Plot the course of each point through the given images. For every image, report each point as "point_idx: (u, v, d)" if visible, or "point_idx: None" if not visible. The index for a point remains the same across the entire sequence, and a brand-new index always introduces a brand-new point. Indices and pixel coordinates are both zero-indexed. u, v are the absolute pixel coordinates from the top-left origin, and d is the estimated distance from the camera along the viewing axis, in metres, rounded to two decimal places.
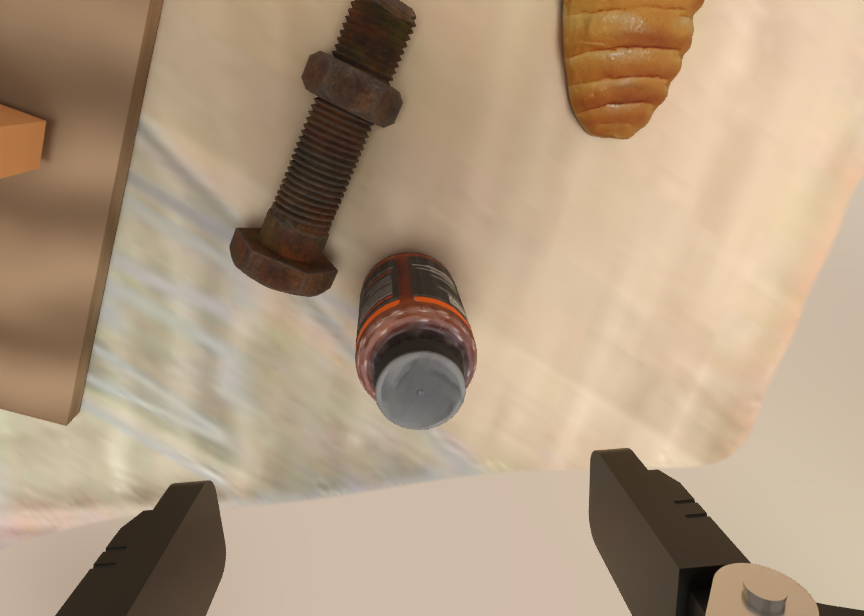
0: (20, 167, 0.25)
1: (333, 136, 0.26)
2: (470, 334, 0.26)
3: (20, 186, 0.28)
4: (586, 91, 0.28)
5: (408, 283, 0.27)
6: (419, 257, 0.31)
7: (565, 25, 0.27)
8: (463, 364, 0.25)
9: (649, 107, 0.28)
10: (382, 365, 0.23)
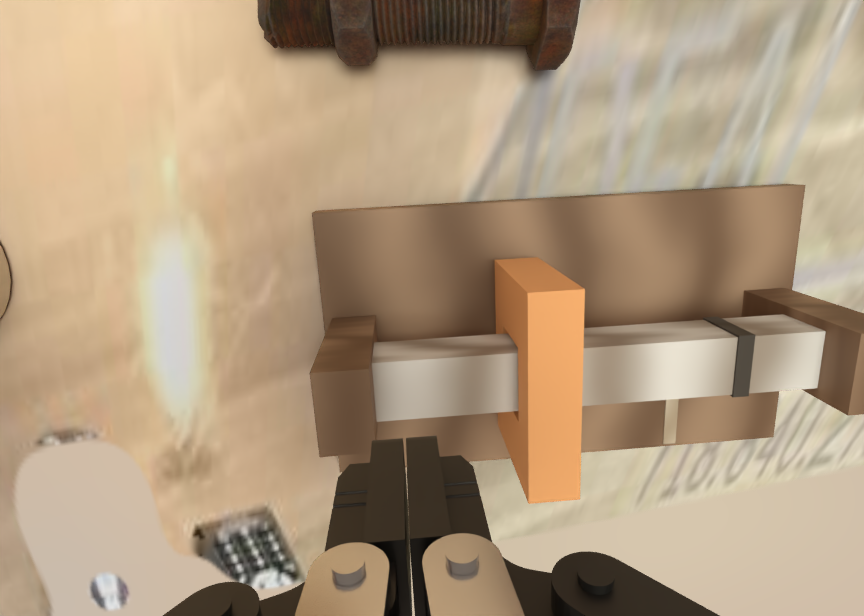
0: (539, 262, 0.28)
1: (401, 0, 0.25)
2: None
3: None
4: None
5: None
6: None
7: None
8: None
9: None
10: None
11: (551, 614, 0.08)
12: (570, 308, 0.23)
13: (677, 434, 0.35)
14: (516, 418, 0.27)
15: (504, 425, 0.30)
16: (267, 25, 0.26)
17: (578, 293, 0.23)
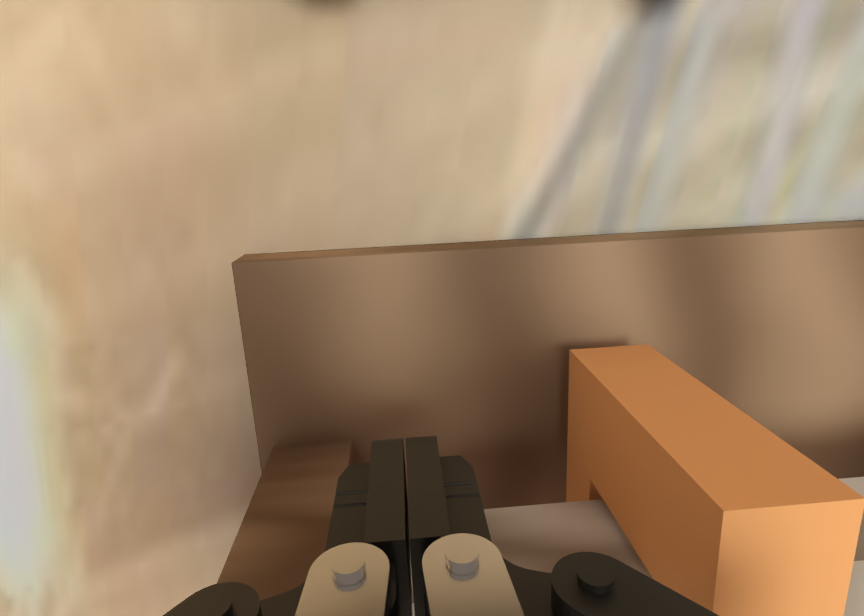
0: (663, 363, 0.15)
1: None
2: None
3: None
4: None
5: None
6: None
7: None
8: None
9: None
10: None
11: (551, 614, 0.08)
12: (823, 543, 0.09)
13: None
14: None
15: None
16: None
17: (848, 508, 0.09)
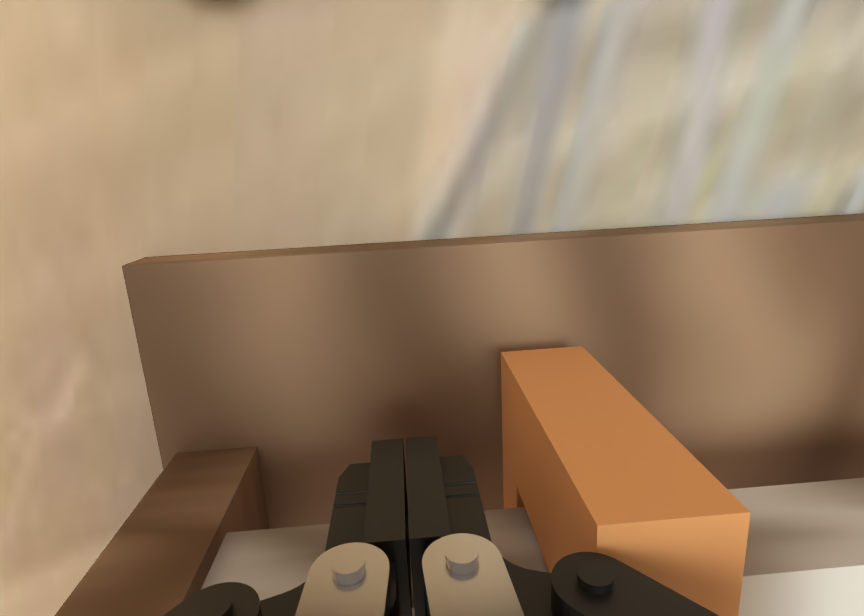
0: (590, 366, 0.14)
1: None
2: None
3: None
4: None
5: None
6: None
7: None
8: None
9: None
10: None
11: (551, 614, 0.08)
12: (708, 559, 0.09)
13: None
14: None
15: None
16: None
17: (732, 523, 0.08)
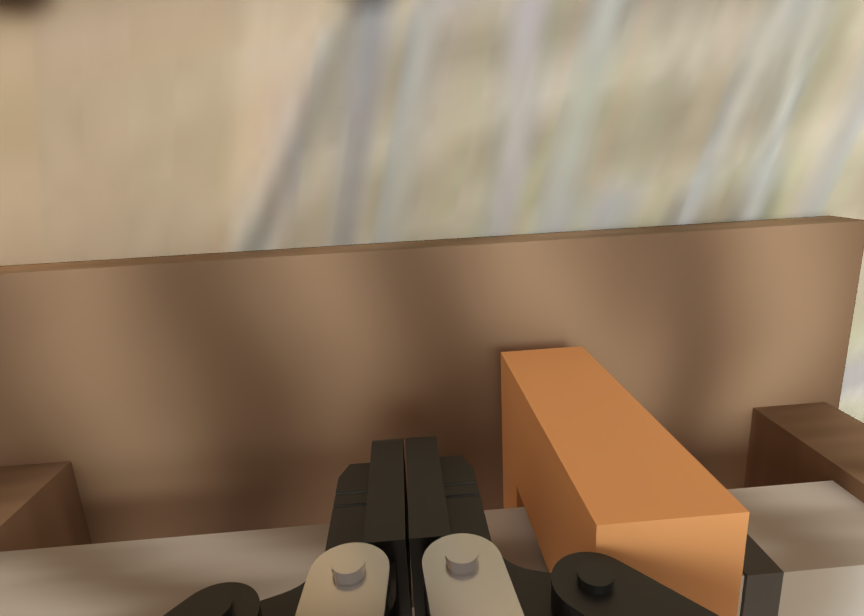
0: (589, 366, 0.14)
1: None
2: None
3: (415, 384, 0.17)
4: None
5: None
6: None
7: None
8: None
9: None
10: None
11: (551, 614, 0.08)
12: (707, 558, 0.09)
13: None
14: None
15: None
16: None
17: (731, 522, 0.08)
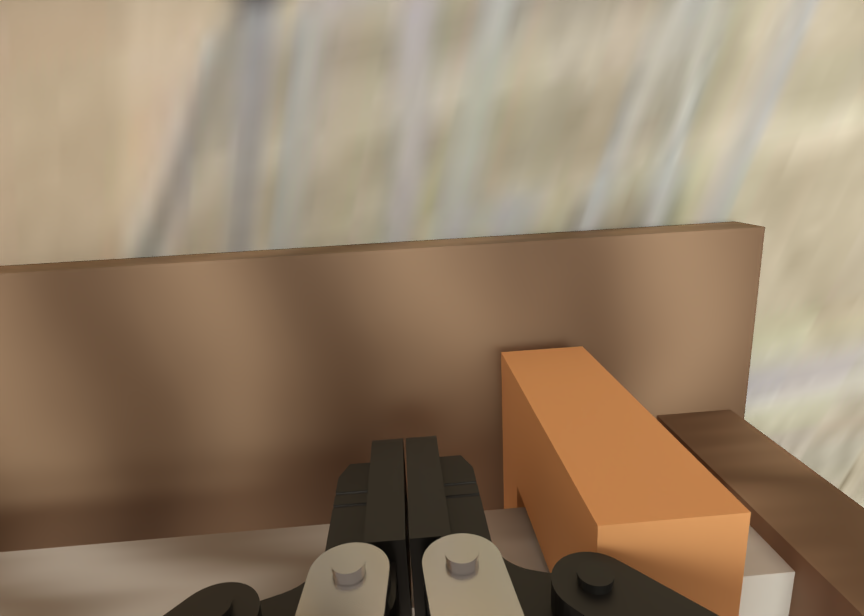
0: (590, 367, 0.14)
1: None
2: None
3: (309, 392, 0.17)
4: None
5: None
6: None
7: None
8: None
9: None
10: None
11: (551, 614, 0.08)
12: (708, 559, 0.09)
13: None
14: None
15: None
16: None
17: (732, 523, 0.08)
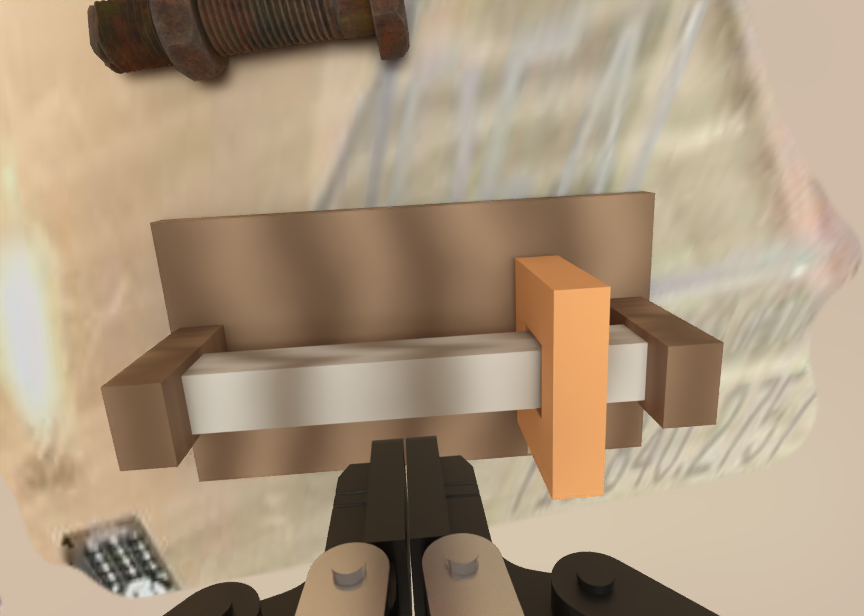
0: (560, 260, 0.29)
1: (227, 8, 0.25)
2: None
3: (410, 283, 0.31)
4: None
5: None
6: None
7: None
8: None
9: None
10: None
11: (551, 614, 0.08)
12: (596, 305, 0.23)
13: None
14: (539, 415, 0.27)
15: (525, 422, 0.30)
16: (101, 52, 0.26)
17: (604, 291, 0.23)
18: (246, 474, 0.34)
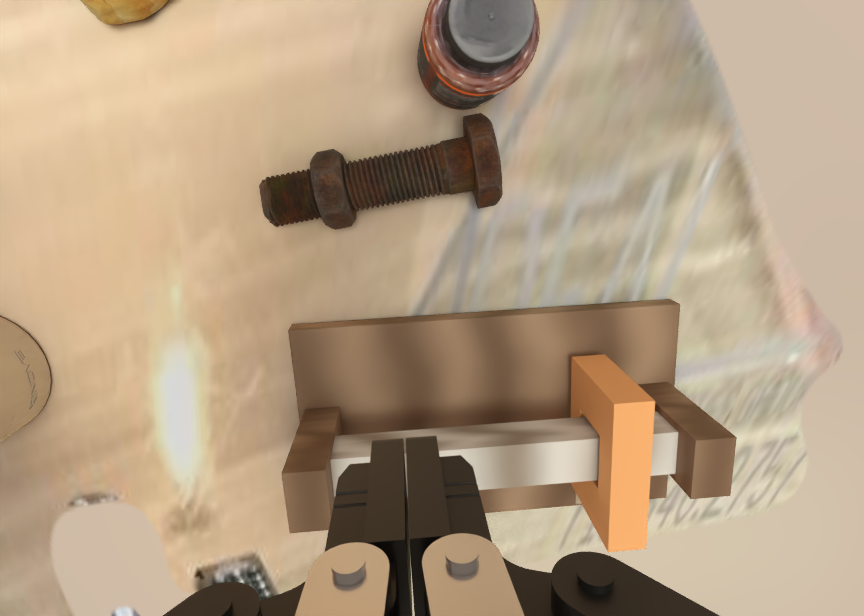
0: (609, 362, 0.37)
1: (367, 183, 0.34)
2: None
3: (487, 373, 0.40)
4: None
5: (428, 70, 0.30)
6: (419, 69, 0.34)
7: (161, 1, 0.32)
8: None
9: None
10: (481, 64, 0.26)
11: (551, 614, 0.08)
12: (644, 414, 0.31)
13: None
14: (595, 485, 0.35)
15: (578, 484, 0.39)
16: (271, 216, 0.34)
17: (650, 403, 0.31)
18: None
